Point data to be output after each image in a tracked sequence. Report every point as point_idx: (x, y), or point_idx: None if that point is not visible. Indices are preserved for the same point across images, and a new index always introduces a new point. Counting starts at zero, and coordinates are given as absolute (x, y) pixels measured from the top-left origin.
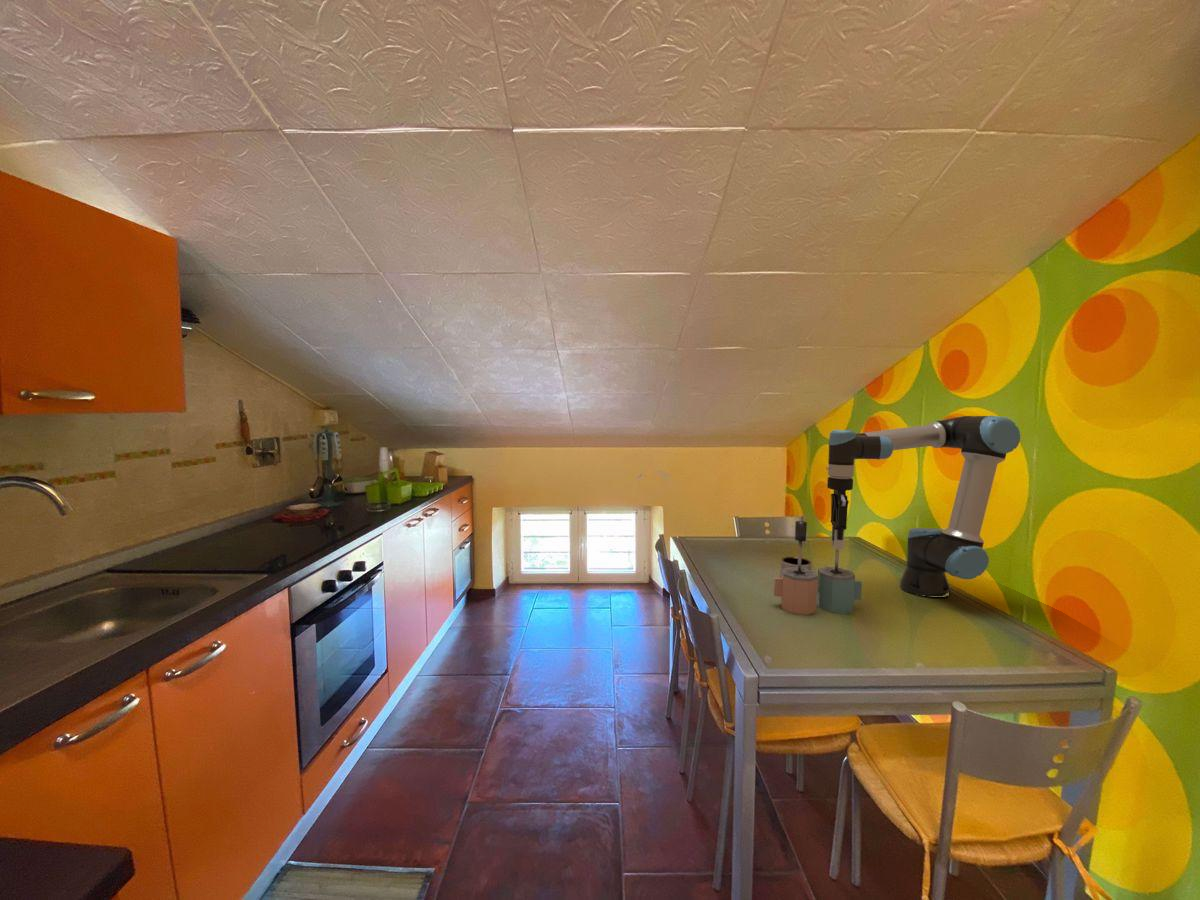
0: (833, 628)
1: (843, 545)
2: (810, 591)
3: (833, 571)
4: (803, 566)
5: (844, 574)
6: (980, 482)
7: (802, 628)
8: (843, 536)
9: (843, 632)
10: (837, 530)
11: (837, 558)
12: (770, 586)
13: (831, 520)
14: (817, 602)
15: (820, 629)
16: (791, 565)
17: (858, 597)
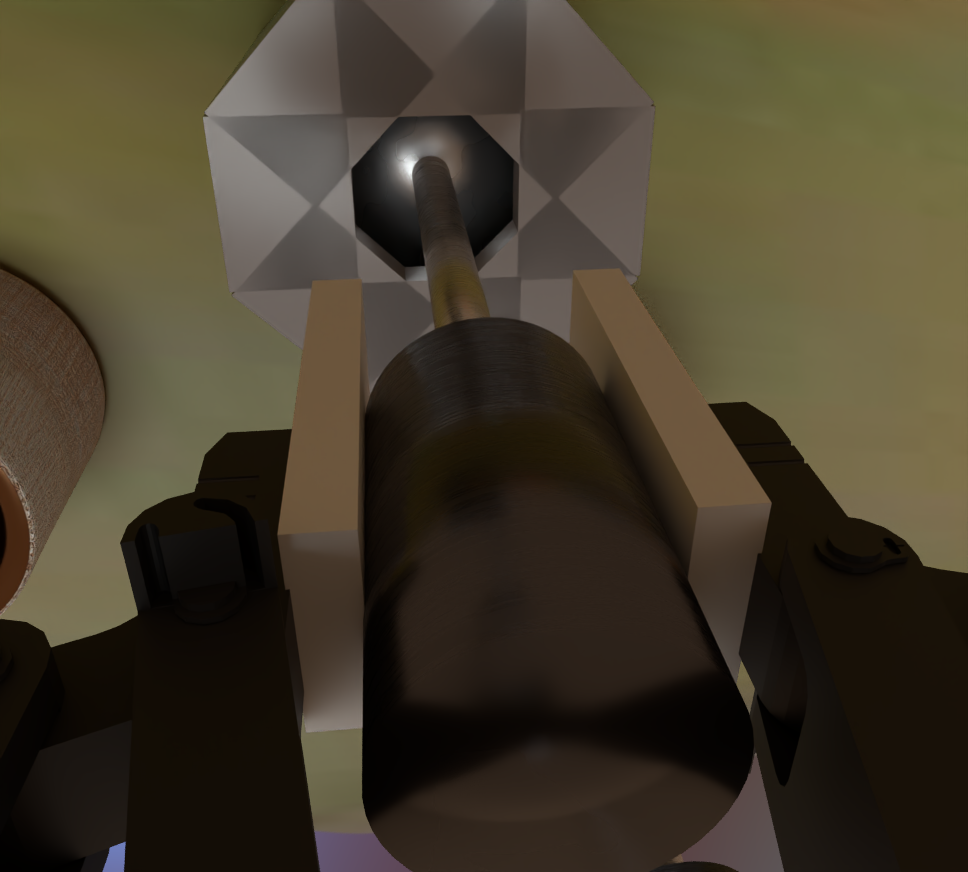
0: (866, 192)
1: (642, 305)
2: None
3: (354, 214)
4: (5, 454)
5: (518, 110)
6: None
7: (876, 392)
8: (705, 412)
9: (931, 131)
10: (739, 636)
11: (474, 266)
12: (105, 556)
13: (82, 868)
14: None
15: (886, 285)
16: (34, 559)
17: None
